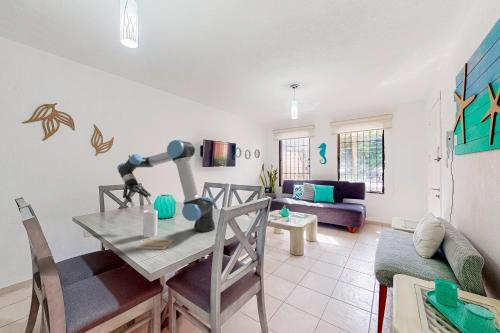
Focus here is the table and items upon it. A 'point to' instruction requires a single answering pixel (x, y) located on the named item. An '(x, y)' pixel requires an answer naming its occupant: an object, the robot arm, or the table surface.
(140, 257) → the table surface
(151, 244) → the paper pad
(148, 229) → the cup
